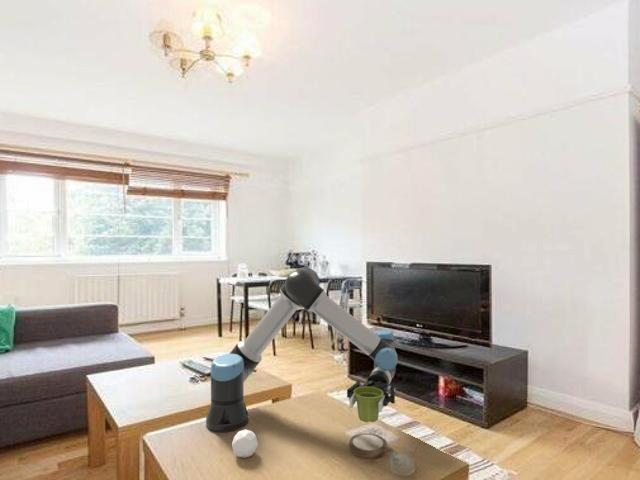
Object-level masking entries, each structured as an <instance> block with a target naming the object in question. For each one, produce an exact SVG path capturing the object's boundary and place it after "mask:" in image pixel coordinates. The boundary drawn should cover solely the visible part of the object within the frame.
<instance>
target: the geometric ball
mask: <svg viewBox="0 0 640 480" xmlns="http://www.w3.org/2000/svg"><path fill="white" fill-rule="evenodd" d="M258 443H259V442H258V438H257V435H256V434H255V433H254V432H253V431H252V430H249V429H243V430H240V431H238V432H237V433H236V434H235V435H234V436H233V440H232V443H231V447H232V451H233V453H234V454H235V455H236V456H237V457H240V458H243V459H246V458H249V457H251V456H253V454H254V453H255V452H256V450H257V448H258Z"/></svg>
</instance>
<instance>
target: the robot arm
mask: <svg viewBox="0 0 640 480" xmlns="http://www.w3.org/2000/svg"><path fill="white" fill-rule="evenodd" d="M320 284H321V283H320V278H319V275H318V274H317V272H316V271H315V270H313V269H312V268H310V267H306V266H305V267H304V266H303V267H299V268H297V269H295V270H294V271H292V272H291V273H289V274H288V276H287V278H286V280H285V281H284V284H283V285H282V286H281V287H280V289H279V291H280V295H279V296H278V297H277V299H276V300H275V301H274V302H273V304H272V305H271V306H270V307H269V309H267V311H266V313H265V314H264V315H263V317H261V319H260V320H259V322H257V324H256V325H255V327H254V328H253V329H252V330H251V332H250V333H249V334H248V335H247V337H246V338H245V339H244V340H239V341H238V342H237V343H236V344H235V345H234V347H233V348H232V349H231V351H230V352H229V353H226V354H222V355H219V356H217V357H215V358H214V359H213V360H211V364H210V371H209V372H210V405H209V409H208V411H207V412H208V413H207V415H206V418H205V427H206V428H207V429H208V430H210V431H214V432H217V433H228V432H234V431H237V430H239V429H242V428H244V427H246V426H247V424H248V423H249V413H248V410H247V406H246V404H245V400H244V398H245V397H244V396H245V395H244V393H245V392H244V387H245V386H244V384H245V382H246V380H247V379H248V378H249V377H250V375H252V374H253V372H254V371H255V369H256V368H257V367H258V365H259V364H260V363H261V362H262V360H263V359H262V357H263V356H262V354H263V353H264V351H265V350H266V349H267V348H268V346H269V345H270V344H271V343H272V341H273V340H274V339H275V338H276V336H277V335H278V334H279V333H280V332H281V330H282V329H283V327H284V326H285V325H286V324H287V323H288V321H289V320H290V319H291V318H292V316H293V315H294V314H295V312H296V311H297V310H298V309H304V310H305V311H306V312H308V313H309V312H312V313H314V314H315V315H317V316H318V318H320V319H322V320H323V321H324V322H326V323H327V324H328V325H329V326H330V327H331V328H333V329H334V330H335V331H337V332H338V333H339V334H340V335H342V336H343V337H344V338H345V339H346V340H348V341H349V342H351V344H352V345H354V346H355V347H357V348H358V349H359V350H360V351H362V352H363V353H365V355H367V356H368V357H369V358H371V359H372V360H373V369H372V371H371V373H370V374H369V376H367V379H366V381H365V382H363V383H362V382H361V381H360V380H356V382H355V383H354V384H353V385H352V386H351V385H350V387H349V388H347V389H346V398H348V402H349V409H353V407H354V406H355V404H357V400H356V397H355V394H354V390H355V389H356V388H358V387H365V386H366V387H375V388H378V389H381V390H382V391H383V395H382V397H381V399H380V401H379V413H382V410H383V409H384V408H385V407H387V406H388V405H389V403H391V404H393V405H394V404H396V401H395V398H396V397H395V396H396V395H395V394H396V385H395V384H391V385H390V383H391V382H392V379H394V377H395V374H396V366H397V364H398V353H397V352H396V349H395V348H396V347H395V339H394V337H395V336H394V333H393V332H392V331H391V330H386V329H385V330H384V329H381V330H376V331H375V332H373V331H372V330H371V329H369V327H367V326H366V325H364V324H363V323H362V322H360V321H359V320H358V319H357V318H356V317H354V316H353V315H352V314H351V313H349V312H348V311H347V310H345V309H344V308H343V307H342V306H341V305H339V304H338V303H337V302H335V301H334V300H333V299H332V298H331V297H329V296H328V295H326V293H325V289H324V288H322V287H321V286H320ZM388 392H389V393H388Z"/></svg>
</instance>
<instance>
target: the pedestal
mask: <svg viewBox="0 0 640 480" xmlns="http://www.w3.org/2000/svg"><path fill="white" fill-rule="evenodd" d="M348 450H349V452H350V453H351V454H352V455H354V456H356V457H358V458H361V459H364V460H365V459H366V460H375V459H380V458H381V457H384V456H385V455H386V454H387V452H388V443H387V440H386V439H385V438H383V437H382V436H381V435H377V434H374V433H365V432H364V433H358V434H355V435H352V437H350V439H349V442H348Z"/></svg>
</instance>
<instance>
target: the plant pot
mask: <svg viewBox="0 0 640 480" xmlns="http://www.w3.org/2000/svg"><path fill="white" fill-rule="evenodd" d="M354 394H355V397H356V400H357V401H356V407H357V413H358V419H359V420H360V421H361V422H363V423H369V422H371V423H374V422H377V421H378V419H379V415H380V412H379V401H380V399H381V397H382V395H383V391H382V390H381V389H378V388H375V387H366V386H365V387H358V388H356V389H355V390H354Z"/></svg>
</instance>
